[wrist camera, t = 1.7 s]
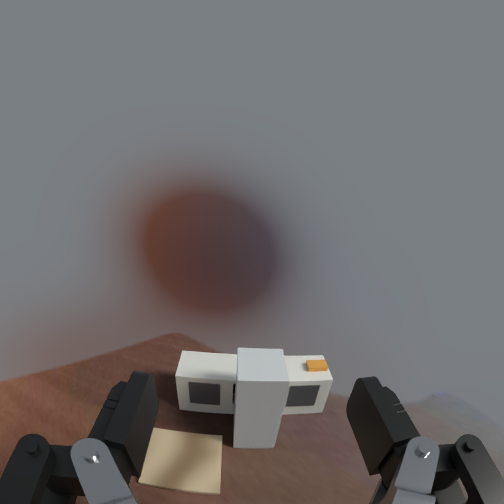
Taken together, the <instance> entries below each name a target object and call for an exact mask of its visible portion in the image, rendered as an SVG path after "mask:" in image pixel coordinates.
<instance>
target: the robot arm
mask: <svg viewBox="0 0 504 504" xmlns="http://www.w3.org/2000/svg"><path fill="white" fill-rule="evenodd" d="M346 412H347V417H348V420H349V422H350V425H351V427H352V430H353V433H354V435H355V438H356V440H357V443H358V445H359V448H360V451H361V453H362V456H363V458H364V461H365V464H366V466H367V469H368V472H369V474H370V476H371V475H375V474H379V473H380V475H381V477H382V478H381V479H380V481H379V482H378V485H377V487H376V489H375V492H374V494H373V496H372V498H371V500H370V502H369V504H504V480H503V478H502V476H501V474H500V472H499V471H498V469H497V467H496V465H495V464H494V462H493V460H492V459H491V457H490V455H489V453H488V452H487V450H486V449H485V447H484V445H483V444H482V442H481V441H480V439H479V438H477V437H476V436H474V435H470V434H466V435H463V436H461V437H460V438H459V439H458V440H457V441H456V442H455V444H444V445H437V443H436V442H435V441H434V440H432V439H431V438H428V437H424V436H420V434H419V433H418V431H417V429H416V428H415V426H414V424H413V422H412V421H411V419H410V417H409V416H408V414H407V412H406V411H404V407H403V406H402V404H400V401H399V399H398V398H397V396H396V394H395V393H394V392H392V391H391V390H390V389H389V388H387V387H382V385H381V384H380V382H379V380H378V379H377V378H376V377H365V378H359V379H357V380H356V382H355V385H354V387H353V390H352V393H351V395H350V398H349V400H348V403H347V408H346ZM157 413H158V397H157V392H156V386H155V381H154V376H153V374H151V373H145V372H138V371H133V372H132V374H131V376H130V379H129V381H128V382H122V381H120V382H119V383H118V384H117V385H115V386H114V387H113V388H112V389H111V391H110V393H109V395H108V397H107V400H106V401H105V403H104V405H103V408H102V409H101V411H100V413H99V415H98V417H97V419H96V422H95V424H94V426H93V428H92V430H91V432H90V434H89V436H88V438H85V439H81V440H79V441H78V442H76V443H75V444H74V445H73V446H60V445H49V443H48V442H47V440H46V439H45V438H44V437H42V436H40V435H38V434H28V435H25V436H23V437H22V438H21V439H20V440H19V442H18V443H17V445H16V447H15V449H14V451H13V453H12V455H11V457H10V459H9V461H8V463H7V466H6V468H5V470H4V472H3V474H2V476H1V479H0V504H75V501H76V498H77V496H86V498H87V500H88V502H89V504H140V502H139V501H138V499H137V497H136V496H135V494H134V492H133V491H132V489H131V487H130V485H129V482H130V479H131V476H136V477H141V473H142V469H143V465H144V461H145V457H146V453H147V450H148V446H149V442H150V439H151V435H152V431H153V428H154V424H155V421H156V417H157ZM459 478H460V479H461V481H462V483H463V485H464V487H465V489H466V491H467V493H468V500H466V498H465V496H464V494H463V492H462V489H461V487H460V485H459V483H458V481H457V480H458V479H459Z"/></svg>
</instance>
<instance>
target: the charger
mask: <svg viewBox="0 0 504 504" xmlns="http://www.w3.org/2000/svg"><path fill="white" fill-rule="evenodd" d="M288 386H289V377H288V372H287V367H286V363H285V358H284V354H283V349H258V348H238V353H237V370H236V386H235V403H234V434H233V448H274V446H275V442H276V438H277V434H278V430H279V426H280V422H281V417H282V413H283V409H284V404H285V400H286V395H287V391H288Z"/></svg>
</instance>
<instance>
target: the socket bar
mask: <svg viewBox="0 0 504 504" xmlns="http://www.w3.org/2000/svg"><path fill="white" fill-rule="evenodd" d="M284 358H285V363H286V367H287V372H288V377H289V386H288V391H287V395H286V400H285V404H284V409H283V413H282V415H287V414H308V413H322V411H323V408H324V405H325V403H326V400H327V397H328V394H329V391H330V388H331V385H332V381H333V379H332V376H331V374H330V371H329V369H328V366H327V363H326V361H325V359H324V356H323V355H319V356H284ZM236 370H237V355H236V354H235V355H234V354H219V353H205V352H193V351H182V354H181V358H180V361H179V365H178V368H177V372H176V375H175V377H176V386H177V394H178V402H179V409H180V410H187V411H197V412H208V413H222V414H234V403H235V386H236Z"/></svg>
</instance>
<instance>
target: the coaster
mask: <svg viewBox="0 0 504 504" xmlns="http://www.w3.org/2000/svg"><path fill="white" fill-rule="evenodd" d="M221 457H222V435H209V434H198V433H188V432H180V431H173V430H166V429H159V428H153V431H152V435H151V439H150V442H149V446H148V450H147V453H146V457H145V461H144V465H143V469H142V473H141V477H140V478H139V484H142V485H147V486H152V487H157V488H163V489H169V490H175V491H182V492H190V493H199V494H210V495H220V482H221Z"/></svg>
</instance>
